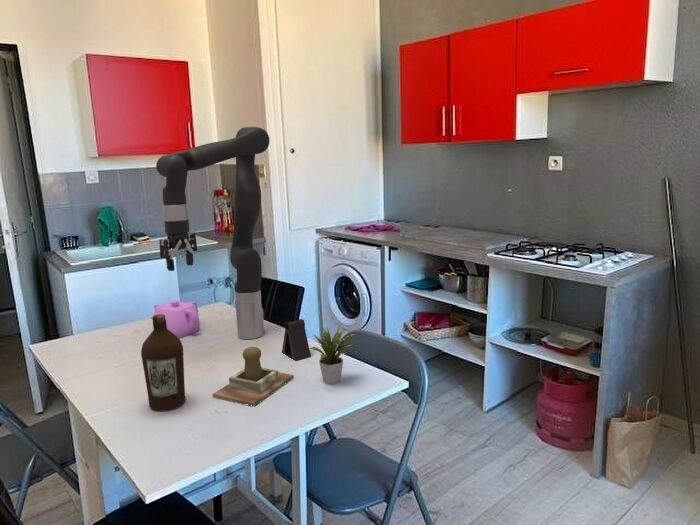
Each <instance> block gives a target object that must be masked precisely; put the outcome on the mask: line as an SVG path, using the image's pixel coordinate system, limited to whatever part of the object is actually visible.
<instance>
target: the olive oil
mask: <svg viewBox="0 0 700 525" xmlns="http://www.w3.org/2000/svg"><path fill="white" fill-rule="evenodd" d="M152 329H153V330H152V331H151V333H150V334H149V335H148V336H147V337H146V339H145V340H144V341H143V343H142V347H141V350H140V356H141V361H142V362H141V363H142V366H143V372H144V379H145V385H146V391H147V392H146V393H147V398H148V406H149V408H150V409H151V410H153V411H156V412H166V411H172V410H175V409H178V408H180V407H182V406H183V405H184V404H185V402H186V388H185V387H186V386H185V365H184V346H183V343H182V341H181V338H178V337H177V336H176V335H175V334H173V333H172V332H171V331H169V330H168V329H167V326H166V320H165V315H164V314H158V315H153V320H152Z"/></svg>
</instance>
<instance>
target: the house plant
mask: <svg viewBox="0 0 700 525" xmlns="http://www.w3.org/2000/svg"><path fill="white" fill-rule="evenodd" d="M344 331H345V328H343V329H342V330H340V327H338V328H337V329H336V332H335V333H334V335H333V337H331V333H330V330H329V328H328V326H326V328H324V327H322V337H323V340H321V339H320V338H319V337H318V336H317V335H316V334H313V337H314V338H316V340H315V342H316V343H317V344H318V345H319V346H320V347H321V348H322V350H321V349H320V348H318V347H316V346H312V347H309V350H314V351H316V352H319V353H320V359H319V360H318V363H319V368H320V372H321V378H322V381H324V382H325V384H327V383H328V385H333V384H334V383H335V384H338V383H340V381H341V379H342V373H343V372H342V371H343V364H344V359H343V358H342V357H340V356H341V355H344V356H346V357H349V356H348V353H346V352H345V351H347V350H351V348H350V347H351V346H353V344H349V345H346V344H343V343H344V342H347V341H350V340H355V339H356V337H355V338H353V337H352V336H354V335H356V333H355V334H354V333H353V334H349V335H347V336H345V337H344V338H341V337H342V336H343V332H344ZM324 382H323V383H324ZM335 384H334V385H335Z"/></svg>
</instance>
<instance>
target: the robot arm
mask: <svg viewBox="0 0 700 525" xmlns="http://www.w3.org/2000/svg"><path fill="white" fill-rule="evenodd" d="M270 139H271V138H270V135H269V134H268V132H267V131H266V130H265V129H264V128H262V127H258V126H249V127H248V126H247V127H246V126H244V127H241V128H240V129H239V130H237V133H236V134H235V137H233V138H230V139H225V140H220V141H219V140H218V141H213V142H209V143H204V144H201V145H197V146H195V147H190V148H189V149H185V150H182V151H178V152H177V151H176V152H173V153H168V154H167V153H166V154H164V155H162V156H160V157H159V158H158V160H157V161H156V163H155V164H156V165H155V167H156V171H157V172H158V174H159V175H161V176H162V177H163V178H164V177H165V178H166V179H165V181H166V182H165V186H164V187H163V188H162V191H161V193H162V201H163V202H162V203H163V210H162V212H163V221H164V222H163V224H164V233H165V234H166V235H167V236H166V239H165V238H163V239H159V240H158V242H159V257H160V258H161V259H164V260H165V261H166V269H167V271H169V272H174V271H175V261H174V258H175V254H177V253H178V251H181V250H183V251H184V253H185V261H186V265H187V266H194V254H195V252H197V251H198V245H197V236H196V233H190V219H189V209H188V205H187V196H186V194H187V193H186V187H187V183H188V182H187V180H188V172H189V171H196V170H201V169H204V168H207V167H210V166H213V165H216V164H219V163H221V162H225V161H227V160H230V159H235V184H234V185H235V187H234V199H233V200H234V201H233V202H234V204H233V210H234V211H233V235H232V242H231V247H230V257H229V260H230V264H231V265H232V267H233V268H234V269H235V270H236V282H235V284H234V286H233V287H234V299H235V312H236V313H235V314H236V326H237V327H236V328H237V338H239V339H241V340H253V339H254V340H255V339H259V338H261V337H262V336H263V335H264V333H265V324H264V321H265V320H264V308H263V307H262V294H261V293H262V291H261V284H262V280H263V274H262V273H263V272H262V270H263V269H262V268H263V267H262V258H261V255H260V253H259V252H258V251H257V250H256V249H254V246H253V243H254V242H253V241H254V240H253V238H254V229H255V227H256V224H257V222H258V219H259V216H260V213H261V203H262V202H261V200H262V191H261V190H262V189H261V187H260V183H259V180H258V178H257V173H256V169H255V167H256V155H260V154H262V153H264V152H266V150H268V148H269V146H270Z"/></svg>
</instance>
